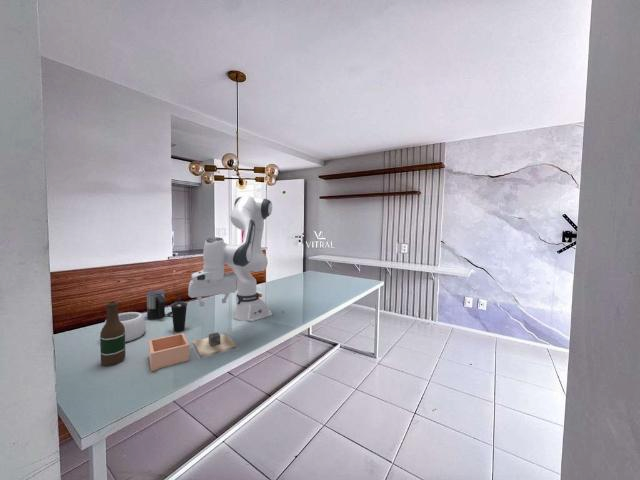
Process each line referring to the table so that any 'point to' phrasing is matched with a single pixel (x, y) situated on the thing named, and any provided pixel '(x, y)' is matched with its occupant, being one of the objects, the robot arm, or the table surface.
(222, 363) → the table surface
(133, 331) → the mug
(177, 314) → the drinking cup
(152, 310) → the milk frother
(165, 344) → the open square planter box
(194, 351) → the slate mat
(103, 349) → the beer bottle
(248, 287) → the robot arm
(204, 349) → the birch lid
